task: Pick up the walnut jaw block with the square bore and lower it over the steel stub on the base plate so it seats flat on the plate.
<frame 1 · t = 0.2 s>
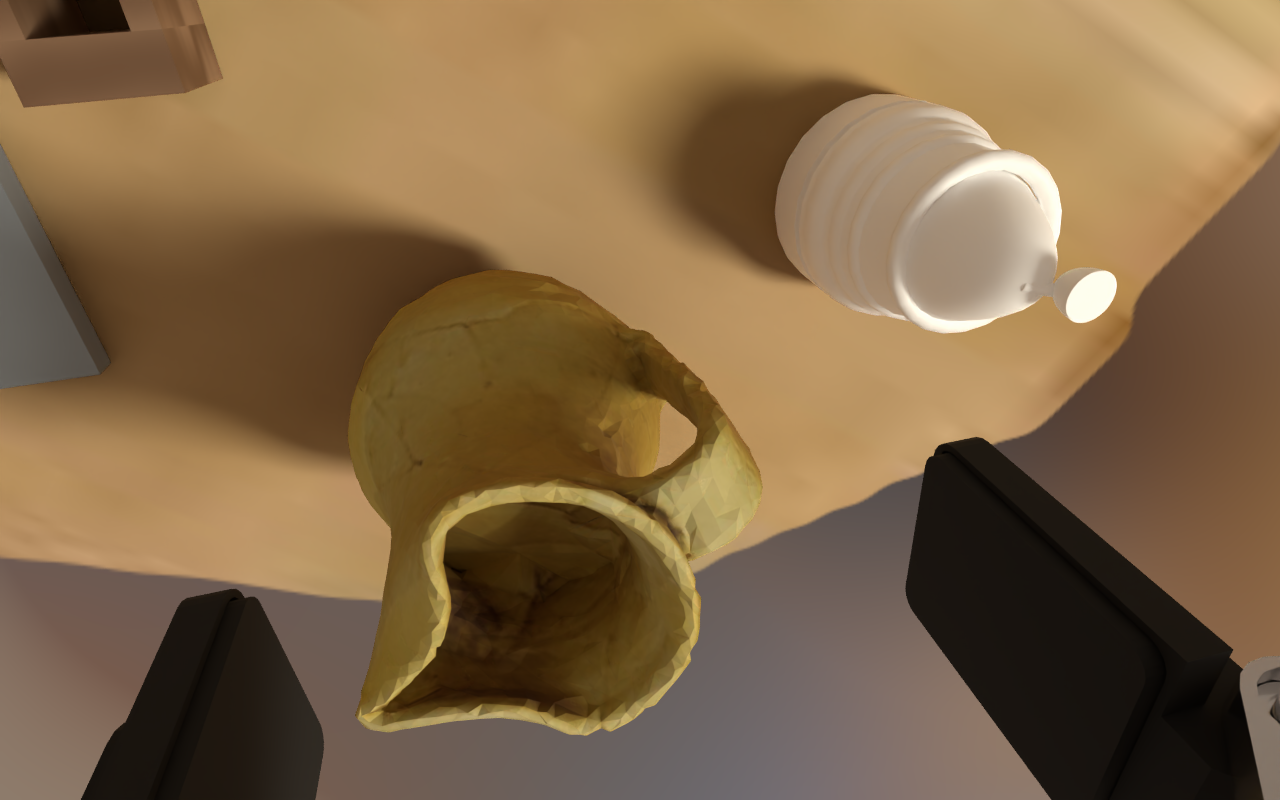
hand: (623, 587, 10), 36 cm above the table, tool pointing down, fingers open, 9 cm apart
pitcher: (510, 359, 48), on the table
honey pot: (863, 196, 48), on the table
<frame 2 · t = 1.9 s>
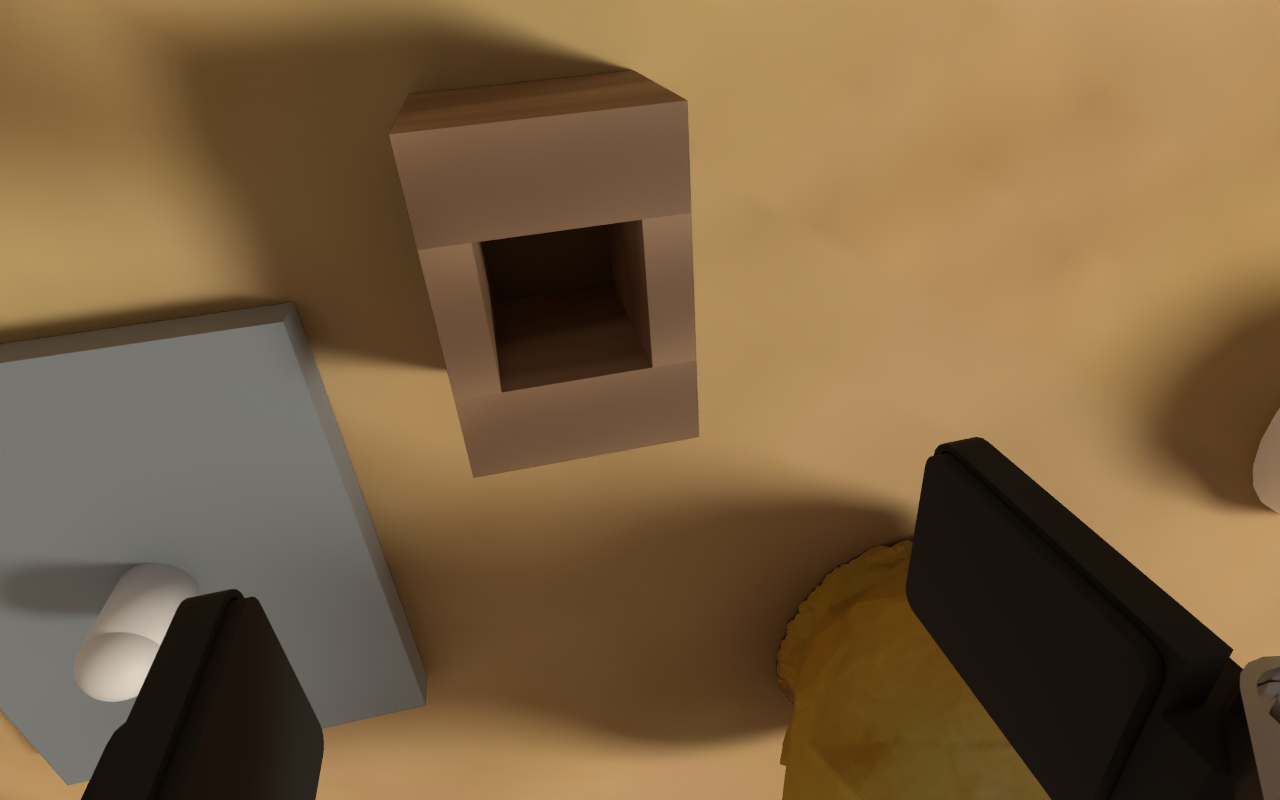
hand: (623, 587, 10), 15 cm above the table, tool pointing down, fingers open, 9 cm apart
base plate: (173, 559, 26), on the table
jaw block: (545, 235, 22), on the table
pitcher: (894, 623, 37), on the table
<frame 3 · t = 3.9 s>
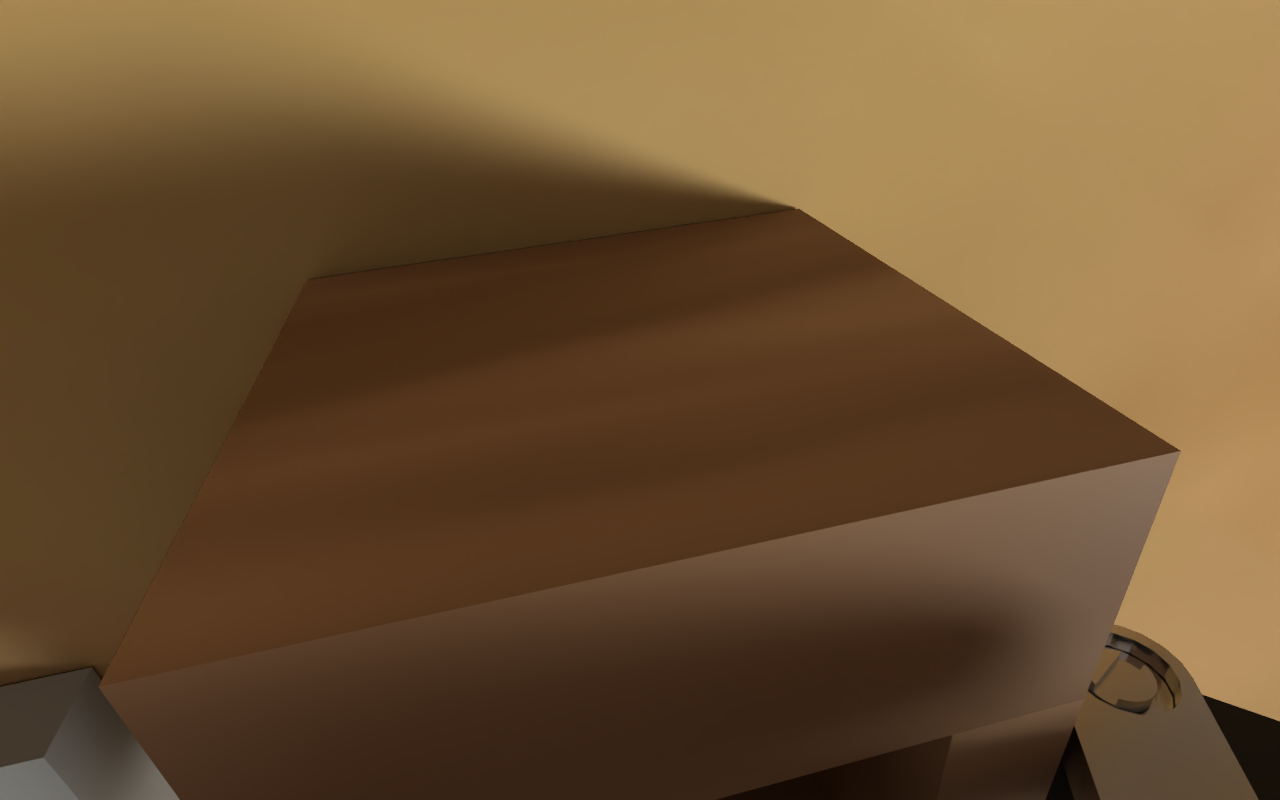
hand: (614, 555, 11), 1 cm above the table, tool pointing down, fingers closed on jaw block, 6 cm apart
jaw block: (602, 511, 11), on the table, touching gripper
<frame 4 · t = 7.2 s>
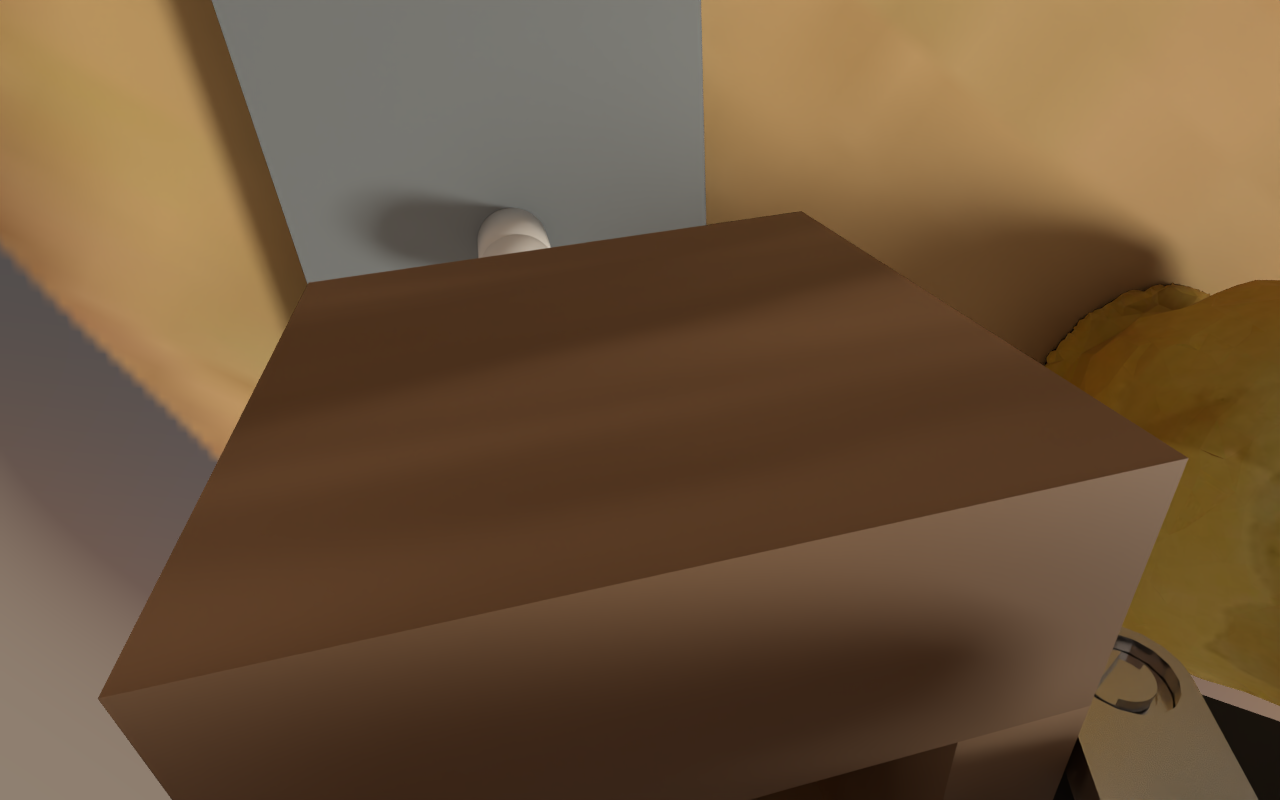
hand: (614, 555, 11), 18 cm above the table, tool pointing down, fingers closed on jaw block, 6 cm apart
base plate: (510, 229, 26), on the table
jaw block: (603, 514, 11), point 17 cm above the table, touching gripper
pitcher: (1123, 392, 37), on the table
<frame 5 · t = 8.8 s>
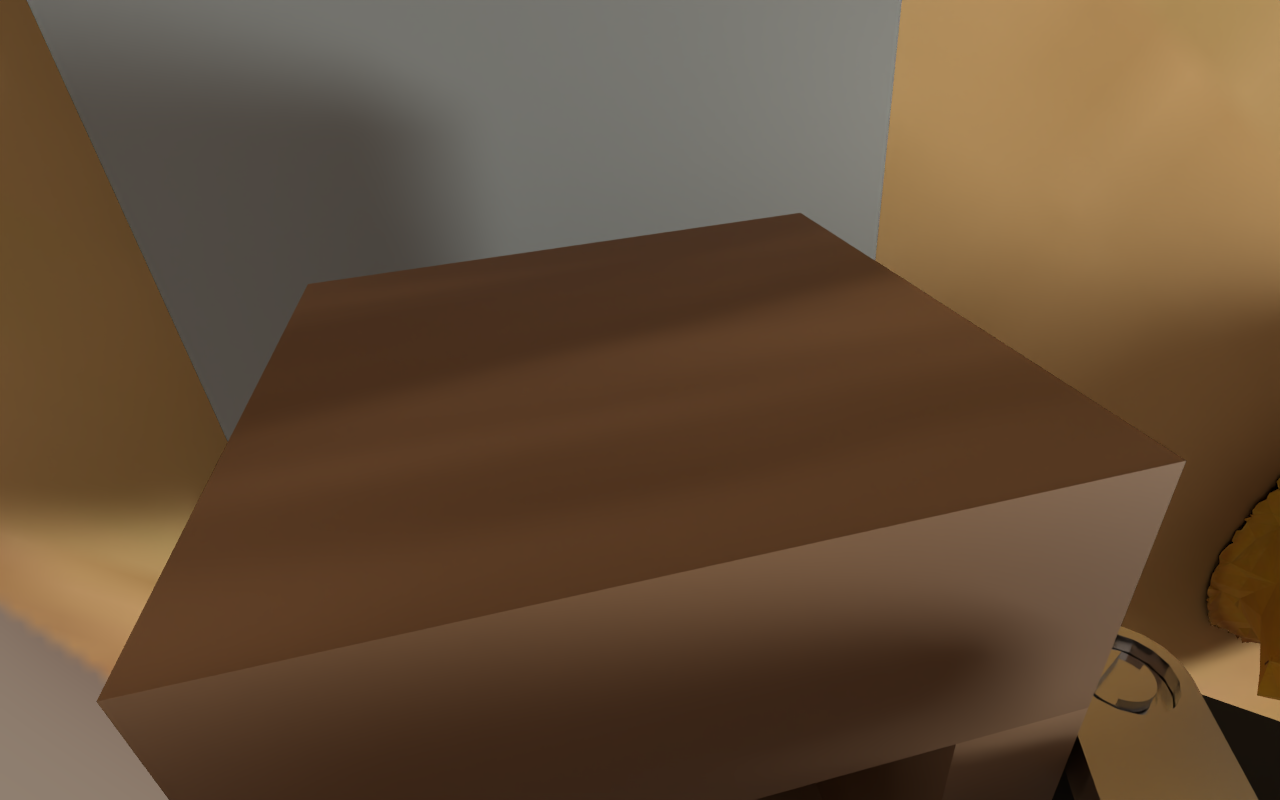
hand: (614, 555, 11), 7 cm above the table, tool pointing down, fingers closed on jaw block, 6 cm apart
base plate: (560, 347, 17), on the table
jaw block: (602, 515, 11), point 6 cm above the table, touching gripper
when the fingers open (3 cm above the table, at t = 10.4 s): jaw block stays where it is, resting on base plate.
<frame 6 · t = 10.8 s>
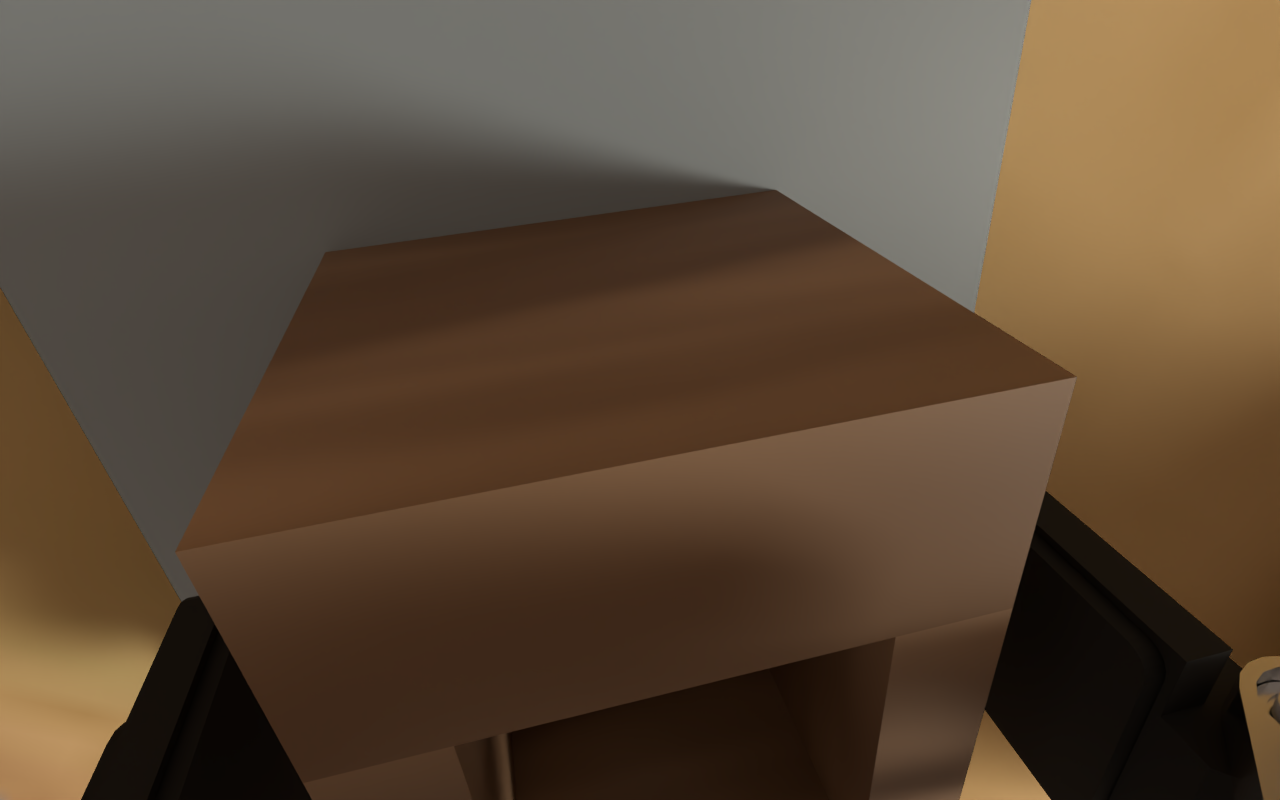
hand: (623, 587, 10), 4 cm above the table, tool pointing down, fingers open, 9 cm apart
base plate: (579, 431, 14), on the table
jaw block: (595, 475, 12), point 1 cm above the table, touching base plate
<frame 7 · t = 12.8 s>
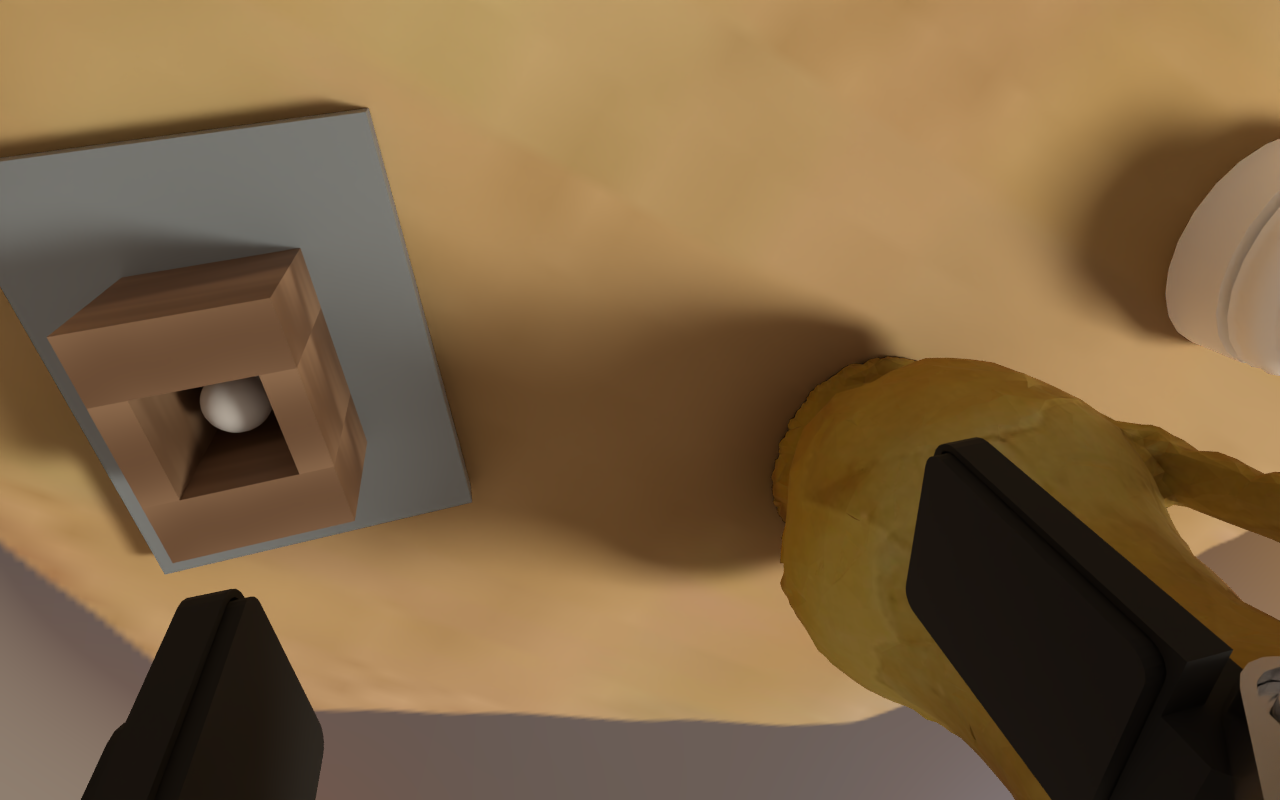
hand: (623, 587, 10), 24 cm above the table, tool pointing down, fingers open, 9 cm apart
base plate: (261, 353, 30), on the table
jaw block: (255, 367, 29), point 1 cm above the table, touching base plate
pitcher: (872, 448, 42), on the table
honey pot: (1255, 244, 43), on the table
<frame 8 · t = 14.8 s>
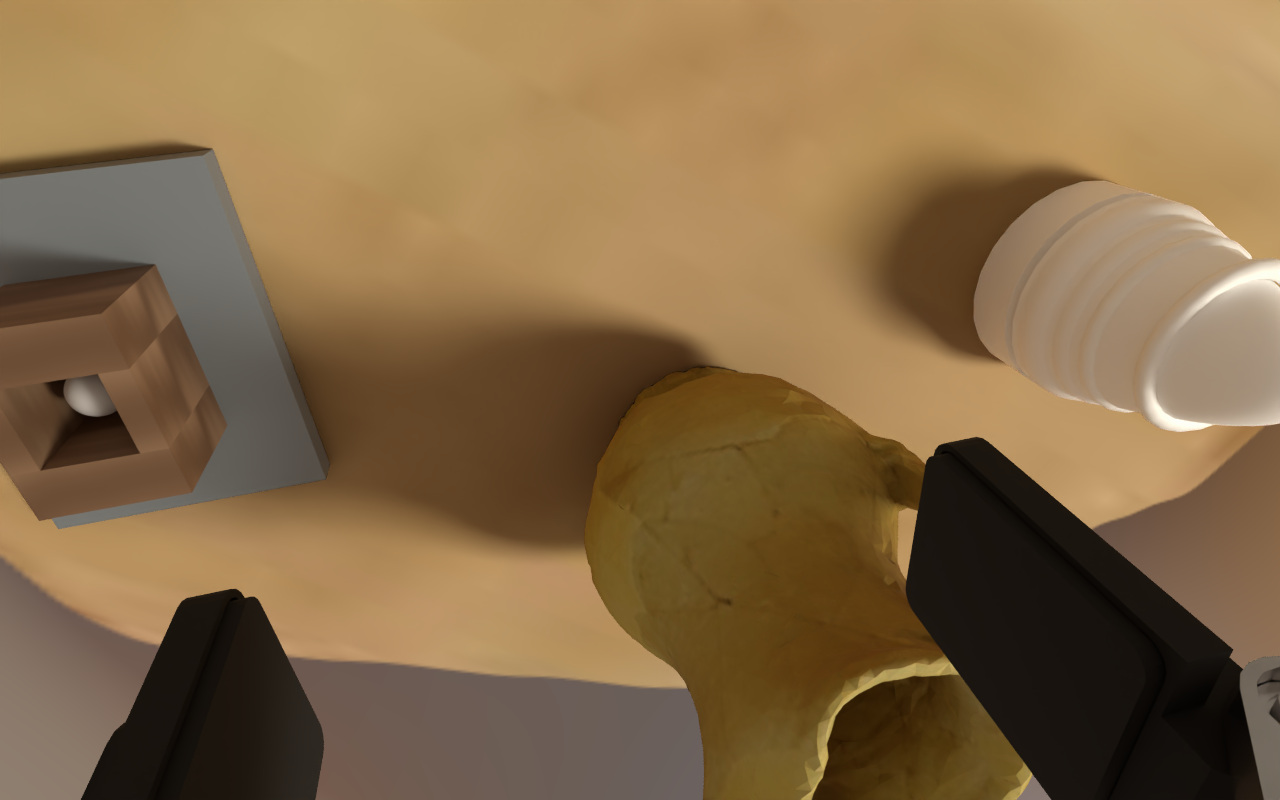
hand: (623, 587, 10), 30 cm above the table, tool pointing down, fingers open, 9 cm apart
base plate: (135, 348, 36), on the table
jaw block: (124, 360, 35), point 1 cm above the table, touching base plate
pitcher: (703, 445, 48), on the table
honey pot: (1059, 277, 47), on the table
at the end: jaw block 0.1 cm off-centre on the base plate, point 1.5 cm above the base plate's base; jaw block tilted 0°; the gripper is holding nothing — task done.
